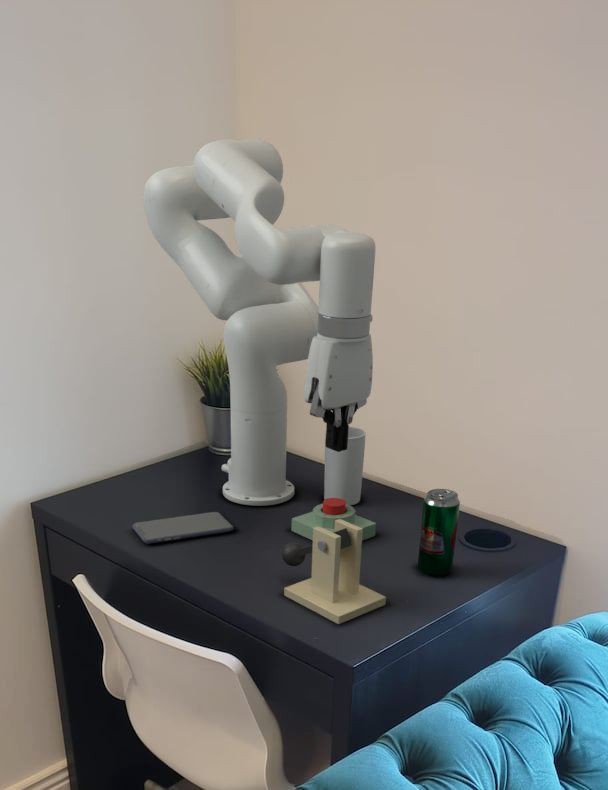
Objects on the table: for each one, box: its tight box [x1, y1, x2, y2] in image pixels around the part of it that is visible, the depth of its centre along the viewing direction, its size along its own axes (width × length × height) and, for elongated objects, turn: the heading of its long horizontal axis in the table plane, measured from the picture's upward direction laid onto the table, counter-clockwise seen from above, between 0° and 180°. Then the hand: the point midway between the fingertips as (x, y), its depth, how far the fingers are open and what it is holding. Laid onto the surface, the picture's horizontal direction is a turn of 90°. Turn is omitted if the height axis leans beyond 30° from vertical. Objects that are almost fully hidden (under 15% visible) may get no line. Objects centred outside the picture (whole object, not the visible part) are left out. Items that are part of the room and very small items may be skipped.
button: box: [322, 498, 346, 515], centre depth 153 cm, size 4×4×2 cm
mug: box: [323, 425, 367, 506], centre depth 166 cm, size 10×7×12 cm, turn 13°
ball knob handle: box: [281, 528, 352, 567], centre depth 135 cm, size 13×3×3 cm
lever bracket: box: [283, 519, 387, 625], centre depth 132 cm, size 11×9×11 cm
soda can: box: [417, 488, 461, 578], centre depth 140 cm, size 5×5×12 cm
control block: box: [291, 503, 377, 542], centre depth 154 cm, size 10×9×4 cm
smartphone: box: [131, 511, 234, 545], centre depth 156 cm, size 8×1×15 cm
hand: (336, 448), depth 149 cm, fingers closed
